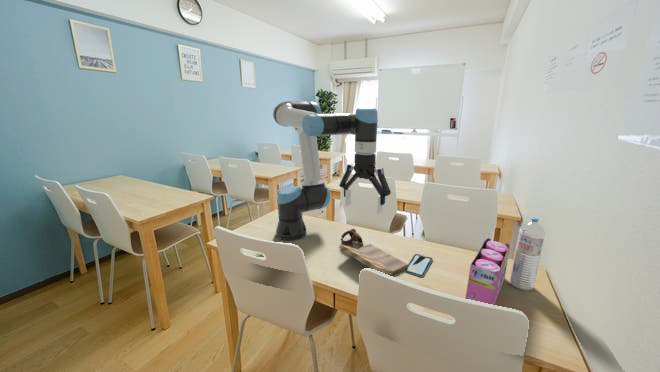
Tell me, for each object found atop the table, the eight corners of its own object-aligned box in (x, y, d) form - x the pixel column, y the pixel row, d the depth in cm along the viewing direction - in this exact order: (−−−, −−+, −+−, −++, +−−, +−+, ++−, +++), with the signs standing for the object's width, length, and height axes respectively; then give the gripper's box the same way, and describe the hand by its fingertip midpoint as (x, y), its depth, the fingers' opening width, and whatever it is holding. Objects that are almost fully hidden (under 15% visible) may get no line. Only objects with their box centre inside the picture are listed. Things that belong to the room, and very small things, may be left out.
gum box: (481, 268, 104) (486, 236, 100) (505, 276, 99) (512, 242, 95) (464, 301, 86) (469, 263, 83) (492, 312, 81) (499, 273, 78)
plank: (339, 247, 110) (340, 244, 110) (355, 252, 116) (356, 248, 116) (375, 271, 94) (377, 267, 94) (392, 275, 100) (393, 271, 100)
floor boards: (356, 252, 117) (356, 249, 116) (369, 246, 121) (369, 243, 121) (393, 275, 100) (393, 271, 100) (407, 267, 105) (407, 264, 104)
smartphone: (403, 271, 102) (415, 253, 114) (403, 273, 103) (415, 255, 115) (423, 277, 98) (433, 258, 110) (422, 279, 99) (433, 260, 111)
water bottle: (505, 280, 97) (517, 215, 90) (522, 278, 97) (536, 214, 91) (519, 292, 90) (533, 223, 83) (538, 291, 91) (554, 222, 84)
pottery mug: (365, 251, 118) (357, 238, 115) (346, 258, 121) (337, 246, 118) (364, 233, 129) (356, 221, 125) (346, 240, 131) (338, 228, 128)
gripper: (330, 151, 100) (330, 204, 106) (394, 158, 86) (390, 219, 92) (341, 148, 106) (341, 199, 112) (402, 155, 92) (398, 212, 98)
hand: (363, 208), depth 102 cm, fingers open, 13 cm apart
